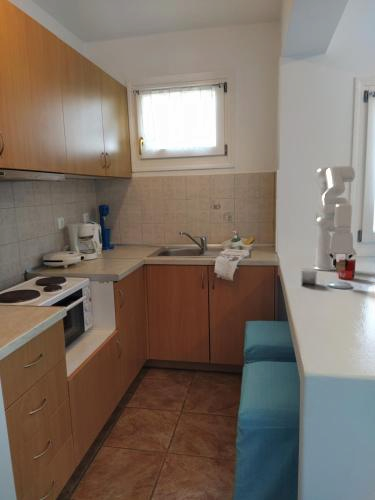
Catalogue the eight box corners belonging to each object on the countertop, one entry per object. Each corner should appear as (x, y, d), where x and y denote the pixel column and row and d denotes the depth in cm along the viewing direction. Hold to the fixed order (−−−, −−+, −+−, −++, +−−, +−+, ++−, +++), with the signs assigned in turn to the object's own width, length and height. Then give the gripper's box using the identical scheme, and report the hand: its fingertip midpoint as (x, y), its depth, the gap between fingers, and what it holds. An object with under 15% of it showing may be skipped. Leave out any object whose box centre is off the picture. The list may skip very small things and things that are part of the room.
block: (335, 269, 179) (335, 261, 179) (344, 270, 178) (344, 262, 178) (335, 269, 175) (336, 261, 176) (344, 270, 174) (345, 262, 174)
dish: (324, 283, 184) (324, 281, 184) (346, 283, 184) (346, 281, 183) (330, 288, 174) (330, 286, 173) (354, 289, 173) (354, 286, 172)
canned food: (355, 280, 190) (357, 259, 188) (339, 279, 192) (340, 259, 190) (352, 277, 197) (353, 257, 196) (336, 276, 199) (337, 256, 197)
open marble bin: (301, 282, 186) (302, 268, 185) (316, 283, 184) (316, 268, 183) (301, 285, 180) (301, 270, 179) (316, 287, 177) (316, 271, 176)
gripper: (323, 230, 174) (321, 268, 176) (362, 231, 168) (359, 270, 171) (323, 228, 181) (321, 265, 183) (360, 229, 175) (358, 267, 177)
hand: (340, 267), depth 177 cm, fingers closed on block, 4 cm apart
